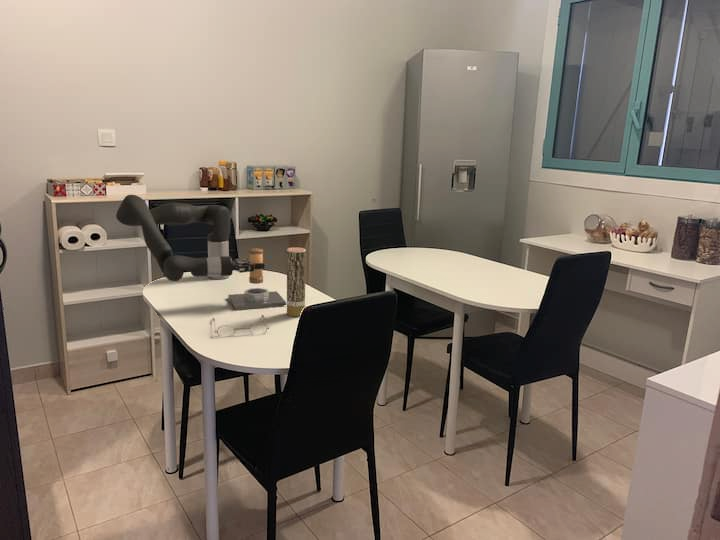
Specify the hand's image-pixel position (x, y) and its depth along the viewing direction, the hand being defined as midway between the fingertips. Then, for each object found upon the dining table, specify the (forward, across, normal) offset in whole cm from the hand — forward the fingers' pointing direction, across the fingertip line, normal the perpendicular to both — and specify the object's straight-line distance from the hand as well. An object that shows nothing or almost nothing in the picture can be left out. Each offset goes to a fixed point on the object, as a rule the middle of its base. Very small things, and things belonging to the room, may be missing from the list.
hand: (262, 264), depth 223 cm
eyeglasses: (-13, -26, +16) cm, 33 cm away
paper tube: (+9, -19, +16) cm, 26 cm away
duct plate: (-2, 0, +15) cm, 16 cm away
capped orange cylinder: (-3, 0, +7) cm, 7 cm away
